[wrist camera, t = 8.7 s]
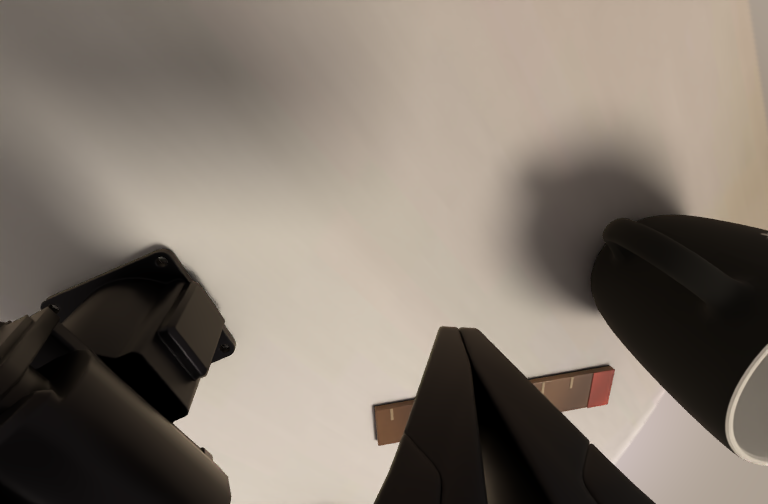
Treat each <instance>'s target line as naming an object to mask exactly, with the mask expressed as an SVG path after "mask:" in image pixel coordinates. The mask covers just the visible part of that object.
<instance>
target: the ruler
mask: <svg viewBox="0 0 768 504" xmlns="http://www.w3.org/2000/svg"><path fill="white" fill-rule="evenodd" d="M614 371H615V369H613V368H612V367H611V366H606V367H600V368H594V369H588V370H583V371H577V372H571V373H565V374H559V375H554V376H548V377H542V378H536V379H530V380H529V381H530V382H531V383H532V384H533V385H534V386H535V387H536V388H537V389H538V390H539V391H540V392H541V393H542V394H543V395H544V396H545V397H546V398H547V399H548V400H549V401H550V402H551V403H552V404H553V405H554V406H555V407H556V408H557V409H558V410H559V411H560V412H563V411H569V410H574V409H580V408H585V407H587V408H590V407H595V406H601V405H606V404H608V399H609V395H610V390H611V385H612V381H613V376H614ZM413 403H414V400H409V401H403V402H397V403H392V404H386V405H380V406H375V418H376V428H377V439H378V445H379V446H380V445H386V444H391V443H396V442H400V440H401V437H402V435H403V432H404V429H405V426H406V424H407V421H408V418H409V415H410V412H411V409H412V406H413Z"/></svg>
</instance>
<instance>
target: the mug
mask: <svg viewBox="0 0 768 504" xmlns="http://www.w3.org/2000/svg"><path fill="white" fill-rule="evenodd" d="M603 240H604V242H605V243H606V245H605V246H604V247H603V249H602V250H601V252H600V253H599V255H598V257H597V259H596V261H595V264H594V267H593V270H592V275H591V289H592V294H593V297H594V301H595V303H596V306H597V308H598V310H599V312H600V313H601V315H602V316H603V318H604V319H605V321H606V322H607V324H608V325H609V327H610V328H611V329H612V331H613V332H614V333H615V335H616V336H617V337H618V338H619V339H620V341H621V342H622V343H623V344H624V345H625V347H626V348H627V349H628V350H629V351H630V352H631V353H632V355H633V356H634V357H635V358H636V359H637V360H638V361H639V362H640V363H641V365H642V366H643V367H644V368H645V369H646V370H647V371H648V372H649V373H650V374H651V375H652V376H653V377H654V378H655V379H656V380H657V382H658V383H659V384H660V385H661V386H662V387H663V388H664V389H665V390H666V391H667V392H668V393H669V394H670V395H671V396H672V397H673V398H674V399H675V400H676V401H677V402H678V403H679V404H680V405H681V406H682V407H684V409H685V410H686V411H687V412H688V413H689V414H690V415H692V416H693V417H694V418H695V419H696V420H697V421H698V422H699V423H700V424H701V425H702V426H703V427H704V428H705V429H706V430H707V431H709V432H710V433H711V434H712V435H713V436H714V437H715V438H717V439H718V440H719V441H720V442H721V443H722V444H723V445H725V446H726V447H727V448H728V449H729V450H731V451H732V452H733V453H734V454H736V455H737V456H739V457H740V458H742V459H744V460H745V461H748V462H751V463H754V464H759V465H767V466H768V231H767V230H763V229H759V228H755V227H750V226H746V225H741V224H736V223H731V222H726V221H720V220H715V219H709V218H703V217H696V216H687V215H660V216H653V217H648V218H644V219H641V220H638V221H633V220H630V219H626V218H620V219H616V220H614V221H612V222H611V223H610V224H608V225H607V227H606V228H605V230H604V232H603Z"/></svg>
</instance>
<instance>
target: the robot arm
mask: <svg viewBox="0 0 768 504" xmlns="http://www.w3.org/2000/svg"><path fill="white" fill-rule="evenodd" d="M159 257H164V258H166V259H167V261H168V263H162V262H161V261H159ZM52 304H53V305H56V306H58V307H59V309H55V308H54V307H53V306H52ZM224 323H225V320H224V318H223V317H222V315H221V314H220V312H219V311H218V309H217V308H216V307H215V305H214V304H213V302H212V301H211V299H210V298H209V297H208V295H207V294H206V292H205V291H204V289H203V288H202V286H201V285H200V284H199V283H197V282H195V281H193V280H192V279H191V277H190V276H189V274H188V273H187V272H186V270H185V269H184V267H183V266H182V264H181V263H180V262H179V260H178V259H177V257H176V256H175V255H174V253H173V252H172V251H170V250H168V249H159V250H156V251H154V252H152V253H149V254H147V255H145V256H142V257H140V258H138V259H135V260H133V261H131V262H129V263H126V264H124V265H122V266H119V267H117V268H115V269H112V270H110V271H108V272H106V273H103V274H101V275H99V276H96V277H94V278H92V279H89V280H87V281H85V282H83V283H80V284H78V285H76V286H73V287H71V288H69V289H66V290H64V291H62V292H60V293H57V294H55V295H53V296H50V297H49V298H48V299H46V300H45V301H44V302H43V303H42V305H41V311H39V312H37V313H35V314H34V315H32V316H30V317H29V316H28V315H26V316H24V317H22V318H20V319H18V320H16V321H14V322H11V321H8V322H6V323H5V322H0V504H230V501H231V492H230V486H229V481H228V476H227V475H226V474H225V473H224V472H223V471H222V470H221V468H220V467H219V466H218V465H217V464H216V463H214V462H213V457H212V455H211V454H210V453H209V452H208V451H207V450H206V449H205V448H203V447H202V448H199V447H198V446H197V445H196V444H195V443H194V442H193V441H192V440H191V439H189V438H188V437H187V436H186V435H185V434H184V433H183V432H182V431H181V430H179V429H178V428H177V427H176V426H175V425H174V424H173V422H174V421H176V420H178V419H180V418H183V417H185V416H186V415H188V412H189V409H190V406H191V404H192V401H193V398H194V395H195V392H196V390H197V387H198V384H199V381H200V378H203V377H205V376H206V375H207V373H208V370H209V367H210V364H211V363H213V362H216V361H218V360H220V359H222V358H225V357H227V356H229V355H231V354H232V353H233V352H234V350H235V346H236V342H235V340H234V338H233V337H232V336H231V334H230V333H229V331H228V330H227V329H226V327H225V326H224ZM224 344H225V345H228V346H229V347H228V348H224V347H222V346H221V345H224ZM374 504H656V503H654V502H653V501H652V500H651V499H650V498H649V497H648V496H647V495H645V494H644V493H643V492H642V491H641V490H640V489H639V488H638V487H636V486H635V485H634V484H633V483H632V482H631V481H630V480H629V479H628V478H627V477H626V476H625V475H624V474H623V473H622V472H621V471H620V470H619V469H618V468H617V467H616V466H615V465H614V464H612V463H611V462H610V461H609V460H608V459H607V458H606V457H605V456H604V455H603V454H602V453H601V452H600V451H599V450H598V449H597V448H596V447H595V446H594V445H593V444H589V440H588V439H587V438H586V437H585V436H584V435H583V434H582V433H581V432H580V431H579V430H578V429H577V428H576V427H575V426H574V425H573V424H572V423H571V422H570V421H569V420H568V419H567V418H566V417H565V416H564V415H563V414H562V413H561V412H560V411H559V410H558V409H557V408H556V407H555V406H554V405H553V404H552V403H551V402H550V401H549V400H548V399H547V398H546V397H545V396H544V395H543V394H542V393H541V392H540V391H539V390H538V389H537V388H536V387H535V386H534V385H533V384H532V383H531V382H530V381H529V380H528V379H527V378H526V377H525V376H524V375H523V374H522V373H521V372H520V371H519V370H518V369H517V368H516V367H515V366H514V365H513V364H512V363H511V362H510V361H509V360H508V359H507V358H506V357H505V356H504V355H503V354H502V353H501V352H500V351H499V350H498V349H497V348H496V347H495V346H494V345H493V344H492V343H491V342H490V341H489V340H488V339H487V338H486V336H485V335H484V334H483V333H482V332H481V331H480V330H478V329H476V328H463V327H461V328H459V329H458V328H456V327H445V326H441V327H440V328H439V330H438V333H437V336H436V339H435V342H434V345H433V348H432V351H431V353H430V356H429V359H428V362H427V365H426V368H425V371H424V374H423V377H422V380H421V383H420V386H419V388H418V391H417V394H416V397H415V400H414V403H413V406H412V409H411V412H410V415H409V418H408V421H407V424H406V426H405V429H404V432H403V435H402V437H401V440H400V443H399V446H398V449H397V452H396V455H395V457H394V460H393V462H392V465H391V467H390V470H389V472H388V475H387V477H386V479H385V481H384V483H383V485H382V487H381V489H380V492H379V494H378V496H377V498H376V500H375V502H374Z"/></svg>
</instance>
